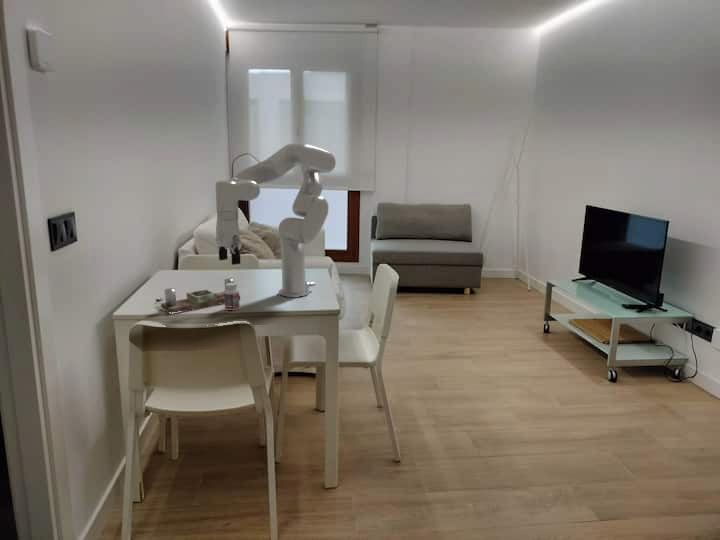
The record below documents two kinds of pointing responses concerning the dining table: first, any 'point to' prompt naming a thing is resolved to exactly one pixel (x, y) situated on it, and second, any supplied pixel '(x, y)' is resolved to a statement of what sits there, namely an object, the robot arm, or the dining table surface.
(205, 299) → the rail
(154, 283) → the dining table surface
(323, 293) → the dining table surface
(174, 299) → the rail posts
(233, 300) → the pill bottle
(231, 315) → the dining table surface
